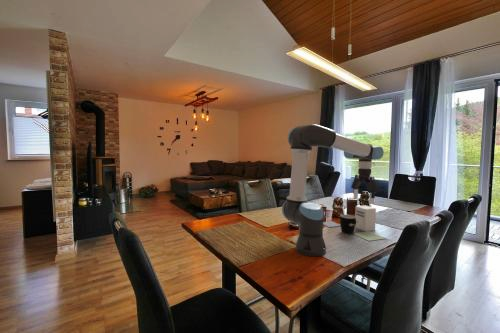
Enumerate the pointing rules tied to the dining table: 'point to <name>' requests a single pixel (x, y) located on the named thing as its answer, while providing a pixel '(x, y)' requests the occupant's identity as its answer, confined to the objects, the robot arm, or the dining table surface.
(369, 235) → the sage coaster
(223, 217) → the dining table surface
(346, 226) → the mug
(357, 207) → the wall box
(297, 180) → the robot arm
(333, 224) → the slate coaster
